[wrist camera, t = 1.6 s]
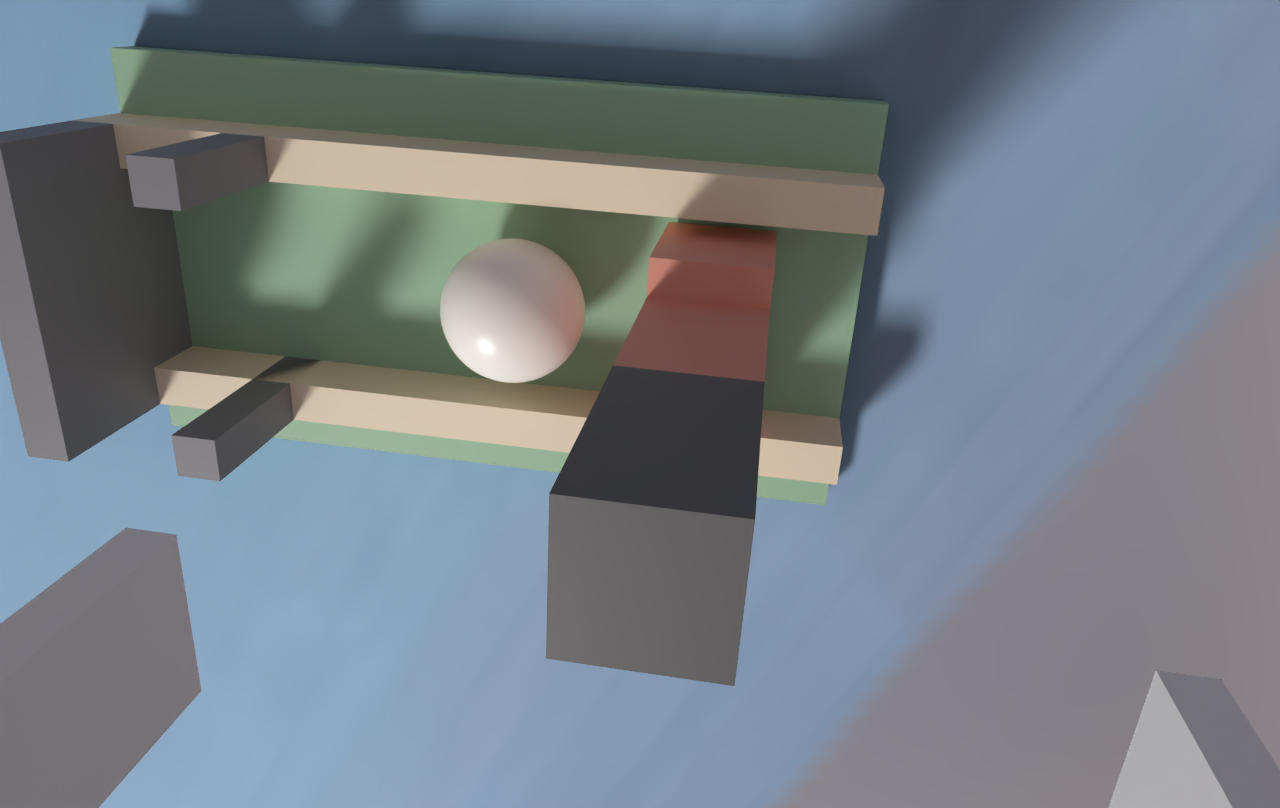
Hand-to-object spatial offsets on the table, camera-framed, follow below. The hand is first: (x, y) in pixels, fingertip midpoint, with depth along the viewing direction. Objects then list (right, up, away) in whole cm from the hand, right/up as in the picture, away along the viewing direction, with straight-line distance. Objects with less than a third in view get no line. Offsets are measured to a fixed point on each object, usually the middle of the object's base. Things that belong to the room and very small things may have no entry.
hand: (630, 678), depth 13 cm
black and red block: (+2, +6, +14) cm, 16 cm away
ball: (-3, +6, +13) cm, 15 cm away
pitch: (-4, +8, +16) cm, 18 cm away
